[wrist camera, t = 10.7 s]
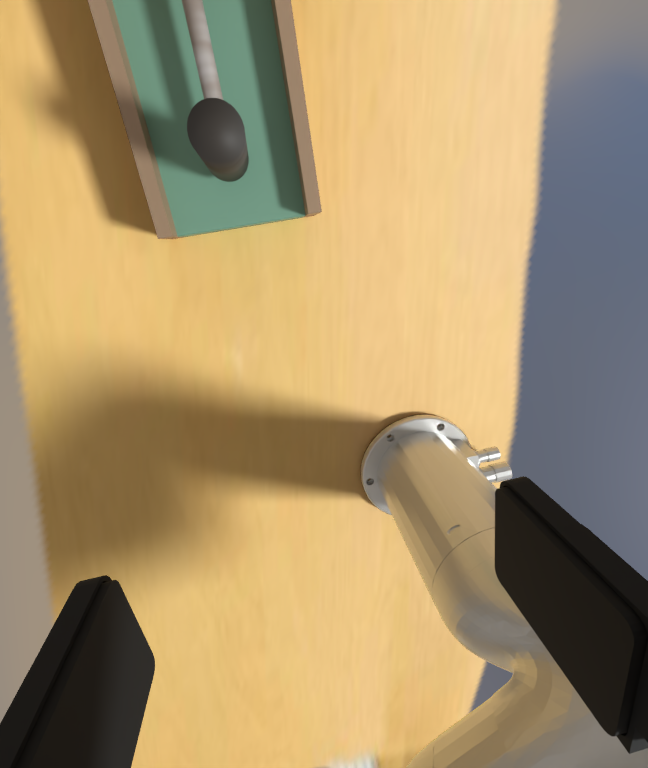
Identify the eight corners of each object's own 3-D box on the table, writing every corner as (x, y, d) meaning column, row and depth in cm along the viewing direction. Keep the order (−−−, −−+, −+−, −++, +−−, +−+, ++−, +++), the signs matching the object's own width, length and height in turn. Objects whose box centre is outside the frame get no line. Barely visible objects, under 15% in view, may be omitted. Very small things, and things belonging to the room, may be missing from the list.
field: (243, -246, 23) (238, -367, 19) (313, 215, 33) (322, 211, 28) (37, -234, 22) (-21, -358, 18) (171, 239, 32) (156, 238, 27)
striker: (222, -98, 23) (205, -258, 16) (273, 177, 29) (277, 154, 21) (121, -89, 23) (54, -250, 15) (192, 189, 28) (167, 171, 21)
